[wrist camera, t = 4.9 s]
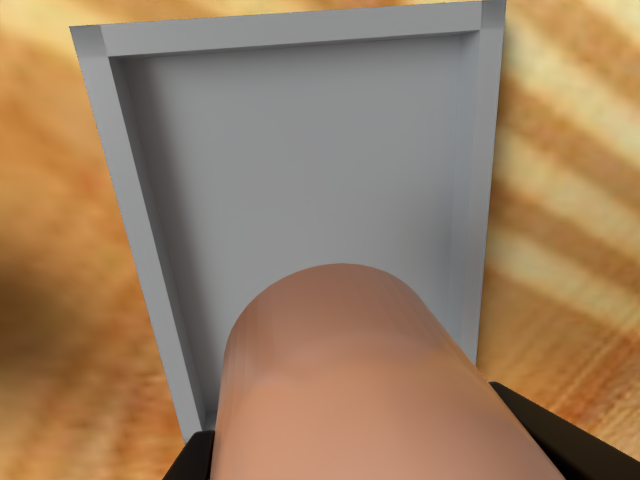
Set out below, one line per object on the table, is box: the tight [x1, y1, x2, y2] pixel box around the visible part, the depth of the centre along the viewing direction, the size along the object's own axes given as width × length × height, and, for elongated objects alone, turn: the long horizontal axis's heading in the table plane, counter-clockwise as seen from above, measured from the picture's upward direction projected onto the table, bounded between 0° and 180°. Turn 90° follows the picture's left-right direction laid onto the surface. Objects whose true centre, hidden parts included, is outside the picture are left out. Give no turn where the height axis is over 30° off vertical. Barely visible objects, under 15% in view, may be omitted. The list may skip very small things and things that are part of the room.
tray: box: [69, 0, 506, 445], centre depth 19 cm, size 16×20×2 cm
